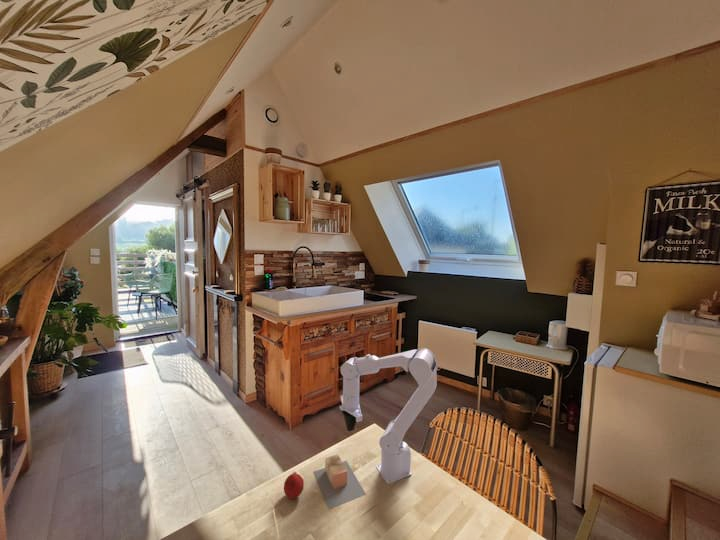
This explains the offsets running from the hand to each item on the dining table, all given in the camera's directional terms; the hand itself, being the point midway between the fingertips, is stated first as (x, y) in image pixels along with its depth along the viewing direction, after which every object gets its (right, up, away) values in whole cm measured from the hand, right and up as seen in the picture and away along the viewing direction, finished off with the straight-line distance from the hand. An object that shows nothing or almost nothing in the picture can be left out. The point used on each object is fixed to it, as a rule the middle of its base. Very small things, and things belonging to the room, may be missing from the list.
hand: (350, 429), depth 103 cm
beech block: (-3, -9, -12) cm, 15 cm away
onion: (-16, -12, -16) cm, 26 cm away
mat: (-3, -11, -11) cm, 16 cm away
